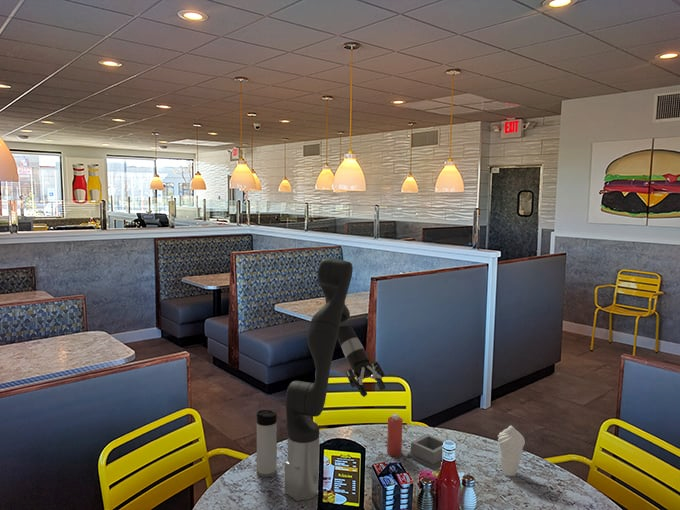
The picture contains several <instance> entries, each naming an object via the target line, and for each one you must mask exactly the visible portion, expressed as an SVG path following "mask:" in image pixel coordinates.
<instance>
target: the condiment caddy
mask: <svg viewBox="0 0 680 510" xmlns="http://www.w3.org/2000/svg"><path fill="white" fill-rule="evenodd" d="M444 441H445V440H443V439H440V438H438V437H436V436H434V435H431V434H429V433H427V434H425V435H423V436H420V437H419V438H417V439H415V440H413V441H411V442H410V452H408V453H407V456H406V457H408V458H410V459H412V460H414V461H416V462H418V463H420V464H422V465H425V466H427V467H429V468H430V469H433V470H435V469H437V468H439V467H440V466H442V465H441V462H442V445H443V442H444Z"/></svg>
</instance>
